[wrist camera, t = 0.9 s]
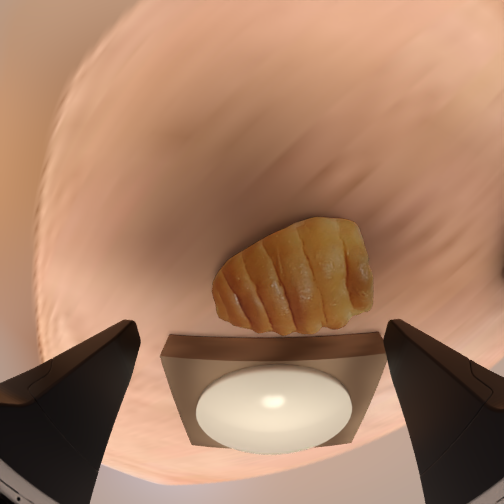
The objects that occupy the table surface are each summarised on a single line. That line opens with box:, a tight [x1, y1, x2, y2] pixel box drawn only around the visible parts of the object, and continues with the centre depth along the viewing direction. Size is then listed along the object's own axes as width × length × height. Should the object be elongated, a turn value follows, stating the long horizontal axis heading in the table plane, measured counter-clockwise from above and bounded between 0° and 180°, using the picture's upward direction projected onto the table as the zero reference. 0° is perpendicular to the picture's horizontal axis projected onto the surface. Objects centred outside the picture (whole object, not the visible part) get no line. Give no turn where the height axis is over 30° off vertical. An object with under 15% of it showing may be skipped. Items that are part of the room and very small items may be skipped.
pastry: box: [212, 217, 373, 336], centre depth 15 cm, size 9×7×4 cm
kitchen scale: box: [160, 332, 387, 455], centre depth 20 cm, size 16×13×3 cm
